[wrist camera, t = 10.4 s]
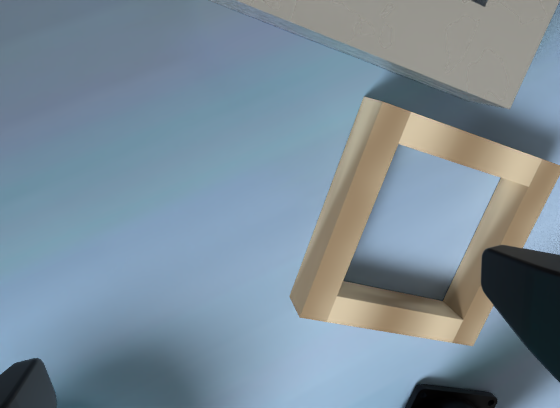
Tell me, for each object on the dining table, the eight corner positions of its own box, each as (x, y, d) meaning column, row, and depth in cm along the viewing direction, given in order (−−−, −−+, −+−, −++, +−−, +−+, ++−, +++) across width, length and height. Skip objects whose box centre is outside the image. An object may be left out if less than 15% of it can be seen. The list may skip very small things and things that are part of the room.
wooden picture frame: (534, 157, 25) (563, 166, 23) (452, 326, 28) (472, 346, 26) (363, 96, 21) (382, 101, 19) (289, 296, 24) (299, 317, 22)
